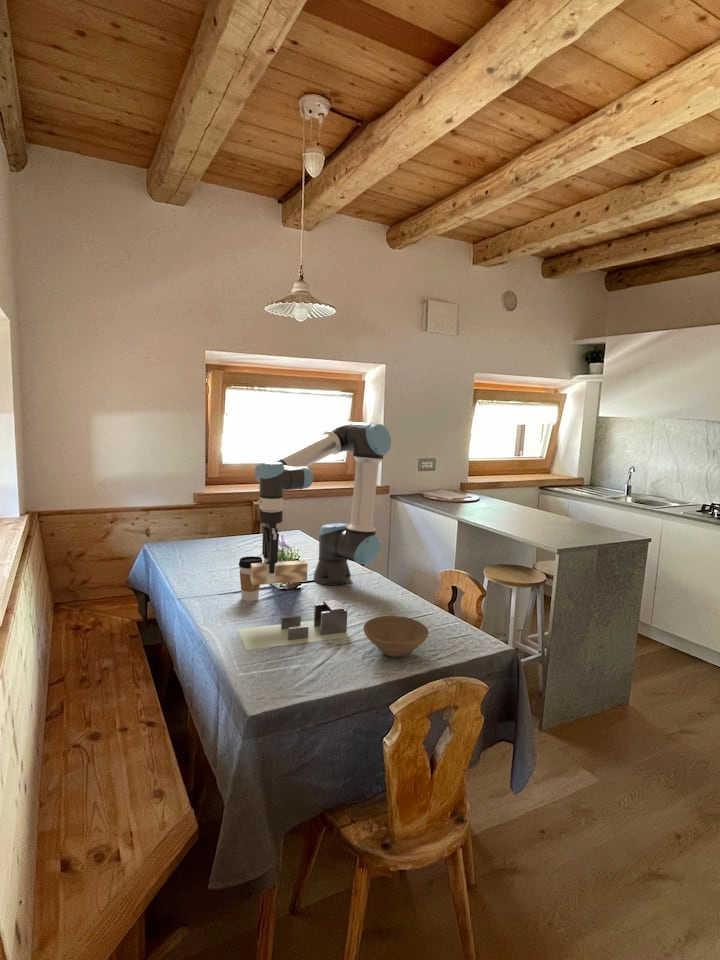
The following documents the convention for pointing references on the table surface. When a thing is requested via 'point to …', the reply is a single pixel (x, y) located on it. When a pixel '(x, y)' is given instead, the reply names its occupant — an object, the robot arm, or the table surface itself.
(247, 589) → the coffee cup
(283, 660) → the table surface
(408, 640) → the bowl
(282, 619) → the open saddle
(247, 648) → the sage board
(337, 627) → the end cap
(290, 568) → the pine slat
